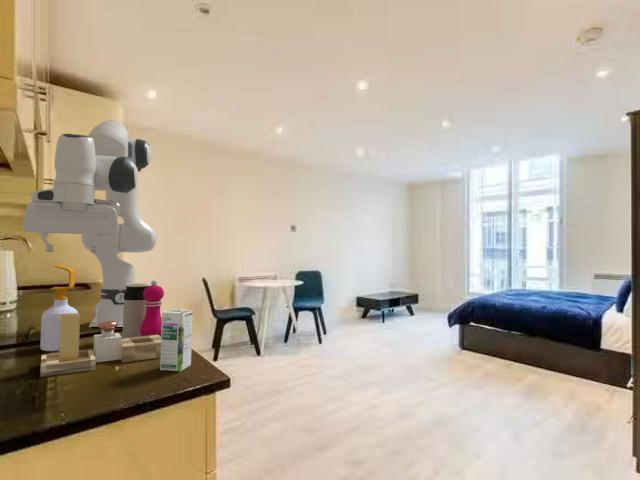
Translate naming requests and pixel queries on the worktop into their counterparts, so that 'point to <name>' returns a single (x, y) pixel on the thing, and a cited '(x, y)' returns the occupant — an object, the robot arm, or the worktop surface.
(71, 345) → the block
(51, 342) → the soap bottle
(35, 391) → the worktop surface
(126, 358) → the socket
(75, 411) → the worktop surface
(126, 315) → the travel mug
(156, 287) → the pepper mill
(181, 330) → the syrup box
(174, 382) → the worktop surface
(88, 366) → the shallow wooden tray
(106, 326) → the pin
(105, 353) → the pin guide
